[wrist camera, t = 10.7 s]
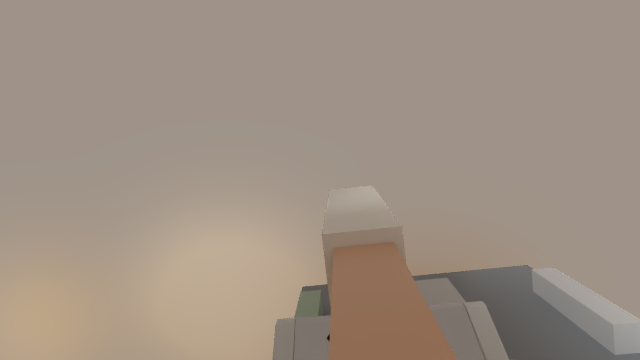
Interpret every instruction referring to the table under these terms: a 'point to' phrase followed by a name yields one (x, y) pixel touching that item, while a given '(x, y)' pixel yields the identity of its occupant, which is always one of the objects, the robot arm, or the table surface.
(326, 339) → the robot arm
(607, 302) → the cabinet
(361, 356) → the lever bar
